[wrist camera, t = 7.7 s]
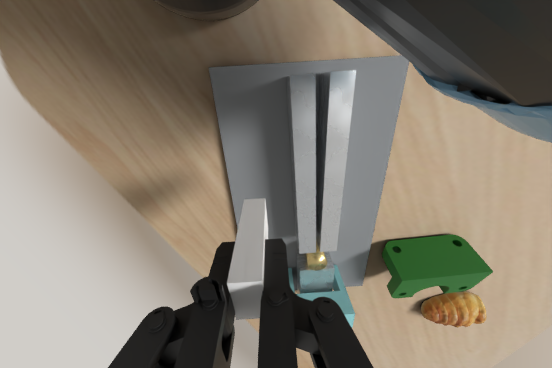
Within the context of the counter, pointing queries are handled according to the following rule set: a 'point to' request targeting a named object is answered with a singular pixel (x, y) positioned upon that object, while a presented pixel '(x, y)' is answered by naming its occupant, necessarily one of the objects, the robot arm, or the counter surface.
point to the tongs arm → (303, 156)
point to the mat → (277, 152)
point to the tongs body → (328, 179)
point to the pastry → (454, 309)
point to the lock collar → (331, 294)
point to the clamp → (432, 265)
